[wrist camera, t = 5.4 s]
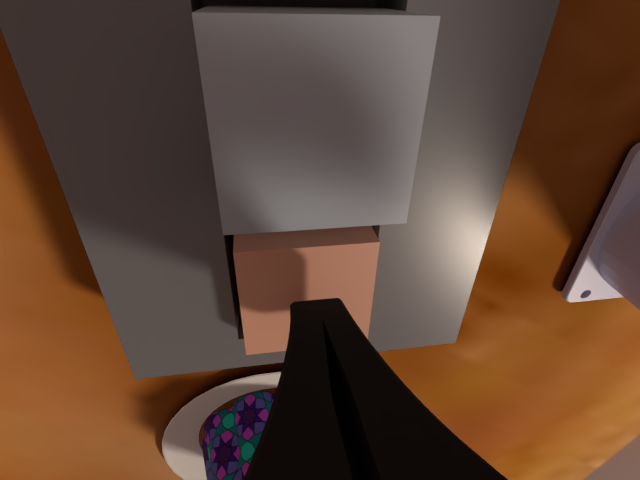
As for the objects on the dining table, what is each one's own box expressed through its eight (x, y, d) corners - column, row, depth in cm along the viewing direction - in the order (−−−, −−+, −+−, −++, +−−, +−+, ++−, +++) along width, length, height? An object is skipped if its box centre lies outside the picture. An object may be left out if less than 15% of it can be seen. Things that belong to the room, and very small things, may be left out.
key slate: (383, 8, 9) (440, 15, 6) (368, 167, 11) (406, 223, 9) (209, 5, 8) (191, 12, 6) (229, 174, 11) (223, 235, 8)
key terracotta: (353, 191, 13) (380, 242, 11) (346, 281, 15) (367, 341, 13) (236, 198, 13) (232, 252, 10) (246, 290, 15) (246, 355, 12)
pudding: (399, 436, 25) (432, 530, 20) (238, 501, 26) (236, 602, 22) (325, 325, 18) (349, 430, 14) (114, 419, 20) (75, 542, 15)
